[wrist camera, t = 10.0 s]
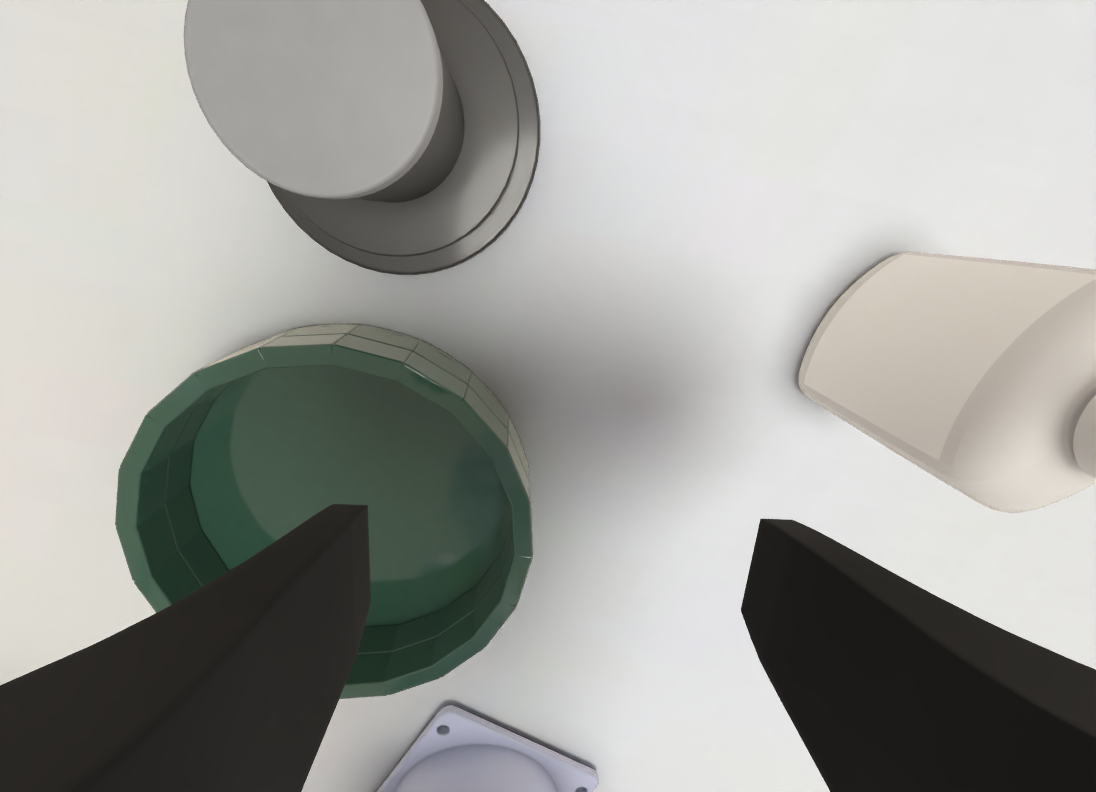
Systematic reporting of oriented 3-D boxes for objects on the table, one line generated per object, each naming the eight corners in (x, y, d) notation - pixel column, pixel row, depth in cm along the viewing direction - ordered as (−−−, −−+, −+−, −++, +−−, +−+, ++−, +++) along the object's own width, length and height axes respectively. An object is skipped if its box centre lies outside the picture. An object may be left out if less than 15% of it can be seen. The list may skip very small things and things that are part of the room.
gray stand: (450, 320, 18) (442, 333, 16) (215, 171, 16) (176, 165, 14) (591, 95, 16) (601, 79, 14) (344, -101, 14) (318, -149, 12)
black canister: (416, 235, 15) (364, 245, 10) (277, 143, 14) (140, 100, 9) (496, 98, 14) (485, 30, 9) (353, -9, 13) (249, -155, 8)
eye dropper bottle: (765, 319, 19) (1167, 484, 7) (922, 235, 18) (1632, 268, 7) (809, 423, 20) (1208, 703, 8) (957, 348, 19) (1598, 539, 8)
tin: (422, 676, 22) (407, 748, 19) (124, 539, 20) (53, 597, 17) (595, 444, 20) (610, 486, 17) (276, 247, 17) (224, 254, 14)
